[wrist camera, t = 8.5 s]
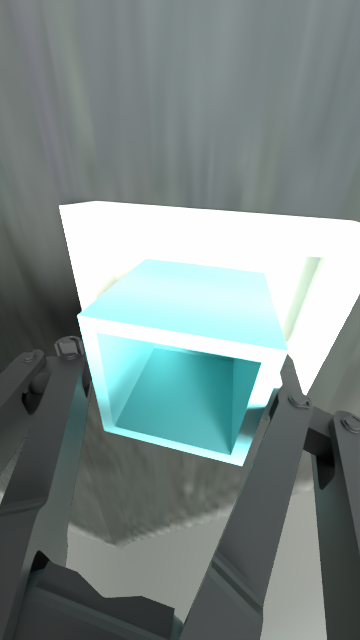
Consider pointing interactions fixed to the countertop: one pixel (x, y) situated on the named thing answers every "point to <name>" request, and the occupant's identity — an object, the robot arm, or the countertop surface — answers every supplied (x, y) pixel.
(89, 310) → the small crate
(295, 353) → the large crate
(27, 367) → the robot arm
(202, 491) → the countertop surface
